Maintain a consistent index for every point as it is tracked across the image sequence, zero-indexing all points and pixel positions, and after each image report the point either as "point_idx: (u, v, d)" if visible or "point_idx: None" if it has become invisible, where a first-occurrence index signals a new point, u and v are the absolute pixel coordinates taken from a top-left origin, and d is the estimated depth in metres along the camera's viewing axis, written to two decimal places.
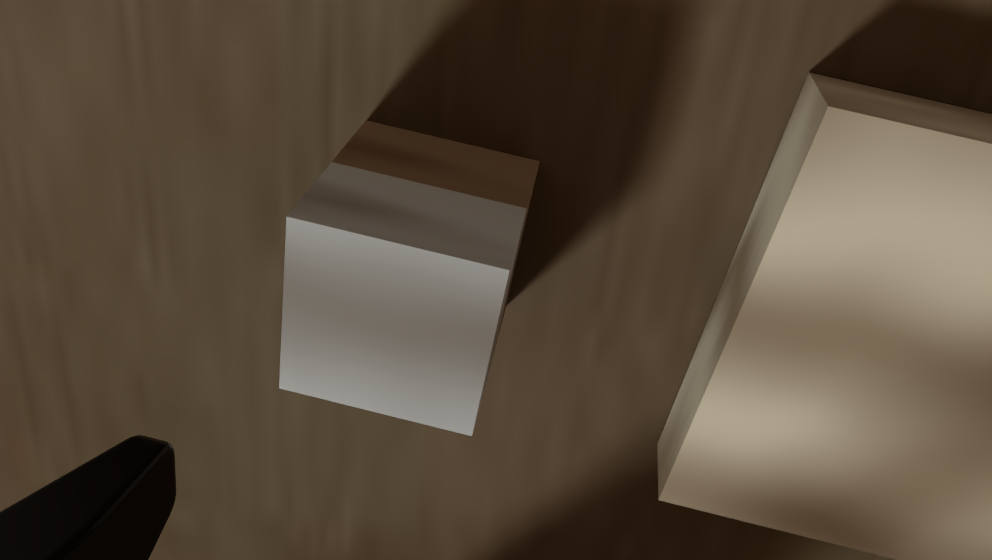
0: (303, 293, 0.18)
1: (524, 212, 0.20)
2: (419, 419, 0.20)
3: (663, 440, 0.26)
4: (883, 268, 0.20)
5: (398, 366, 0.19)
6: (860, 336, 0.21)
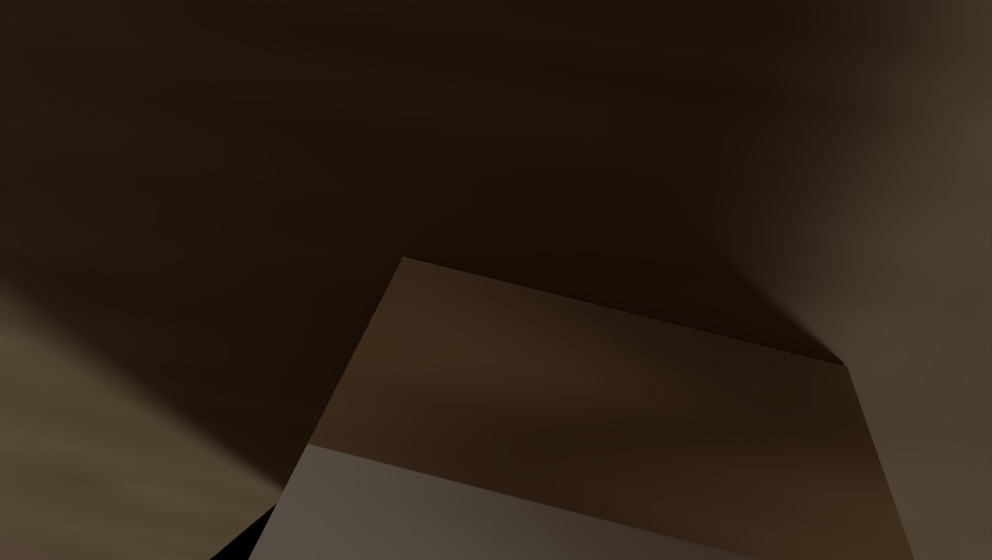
0: None
1: (298, 465, 0.06)
2: None
3: None
4: None
5: None
6: None
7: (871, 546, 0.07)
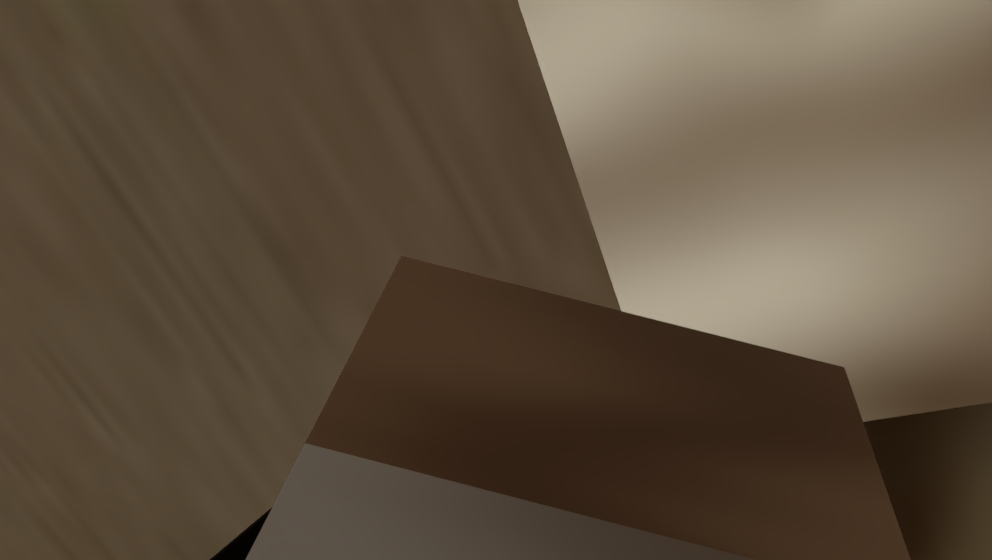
0: None
1: (296, 465, 0.06)
2: None
3: None
4: (696, 34, 0.14)
5: None
6: (737, 134, 0.15)
7: (868, 547, 0.07)
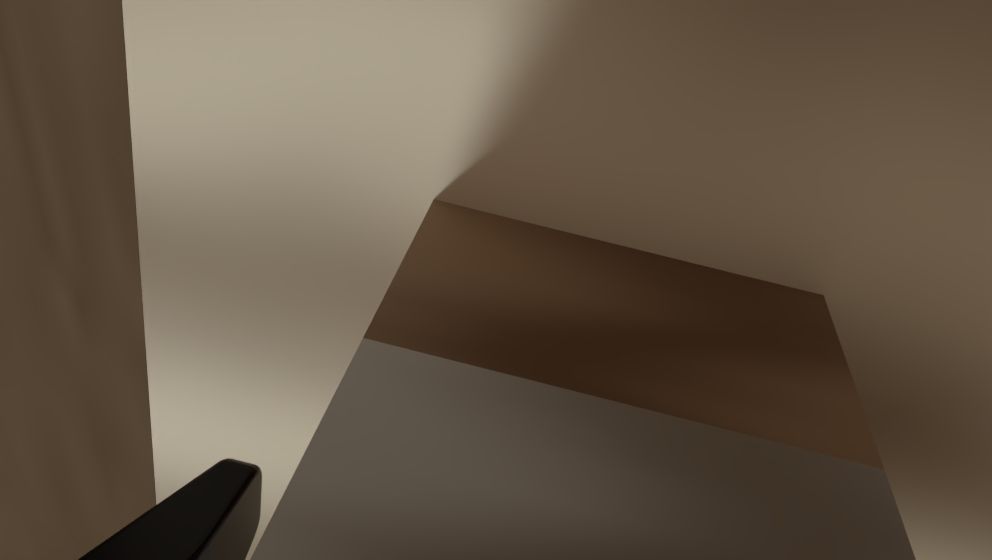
0: None
1: (357, 353, 0.07)
2: None
3: None
4: (347, 142, 0.10)
5: None
6: (356, 282, 0.11)
7: (837, 427, 0.08)
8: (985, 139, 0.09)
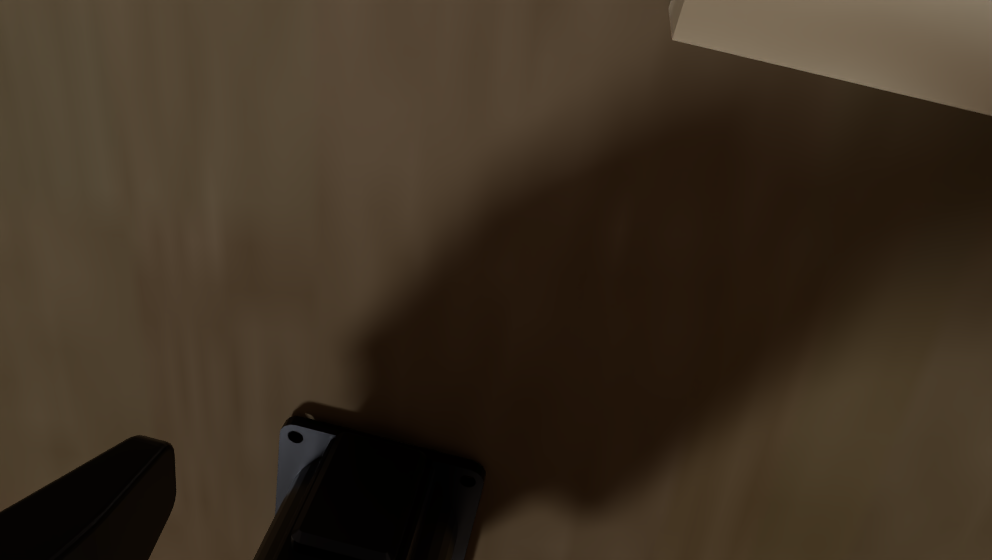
0: None
1: None
2: None
3: None
4: None
5: None
6: None
7: None
8: None
